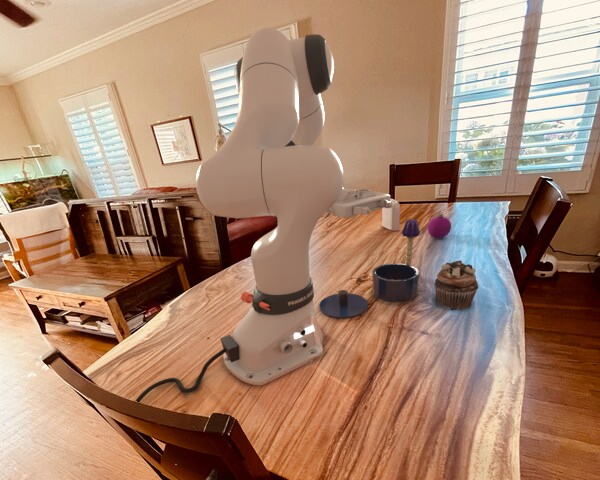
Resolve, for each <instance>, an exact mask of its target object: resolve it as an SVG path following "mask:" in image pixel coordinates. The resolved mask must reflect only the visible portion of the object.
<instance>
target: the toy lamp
mask: <svg viewBox="0 0 600 480" xmlns="http://www.w3.org/2000/svg"><path fill="white" fill-rule="evenodd" d="M402 228H403V229H402V232H401V235H402V236H403V237H406V238H407V240H406V251H405V257H404V258H405V261H404V264H406V265H410V266H412V259H413V249H414V246H413V245H414V238H416V237H419V236H420V235H421V234H420V226H419V222H418V220H417V219H414V218H409V219H407V220H406V221H405V223H404V225H403V227H402Z"/></svg>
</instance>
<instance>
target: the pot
mask: <svg viewBox="0 0 600 480" xmlns="http://www.w3.org/2000/svg"><path fill="white" fill-rule="evenodd" d="M371 275H372V276H371V277H372V278H371V279H372V280H371V281H372V282H371V283H372V285H371V286H372V287H371V288H372V290H371V292H372V295H373V296H374V297H375V298H376V299H378V300H381V301H383V302H387V303H405V302H409V301H412V300H413V299H415V298H416V297H417V295H418V290H419V289H418V288H419V278H420V271H419V270H418V268H416V267H415V266H412V265H406V264H405V263H395V262H393V263H385V264H381V265H378V266H376V267H375V268H373V270H372V274H371Z"/></svg>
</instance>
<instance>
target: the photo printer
mask: <svg viewBox="0 0 600 480" xmlns="http://www.w3.org/2000/svg"><path fill="white" fill-rule="evenodd" d="M390 202H392V203H393V204H392V208H381V210H382V211H381V212H382V214H381V225H382V227H383V228H385V229H387V230H389V231H392V232H396V231H399V230H400V227H401V226H400V225H401V205H400V203H399V201H398V200H396V199H393V198H390Z"/></svg>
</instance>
